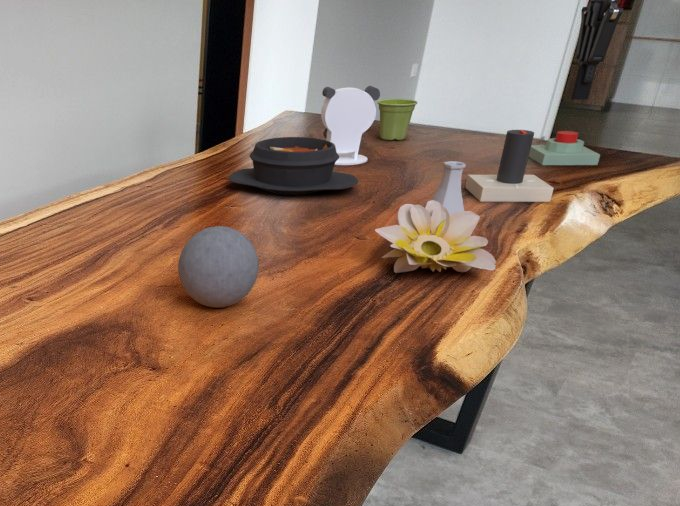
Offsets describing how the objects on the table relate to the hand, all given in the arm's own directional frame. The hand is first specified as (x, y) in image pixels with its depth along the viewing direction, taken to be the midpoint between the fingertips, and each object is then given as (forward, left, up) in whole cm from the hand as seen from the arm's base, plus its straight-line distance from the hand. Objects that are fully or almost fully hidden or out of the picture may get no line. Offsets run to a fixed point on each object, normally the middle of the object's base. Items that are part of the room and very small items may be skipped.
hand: (579, 98), depth 149 cm
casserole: (+59, +25, -13) cm, 66 cm away
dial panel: (+20, +29, -12) cm, 37 cm away
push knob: (0, 0, -9) cm, 9 cm away
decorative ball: (+72, +84, -13) cm, 111 cm away
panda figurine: (+46, -1, -13) cm, 48 cm away
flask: (+36, +49, -13) cm, 62 cm away
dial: (+20, +29, -10) cm, 37 cm away
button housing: (0, 0, -12) cm, 12 cm away
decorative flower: (+44, +70, -13) cm, 84 cm away
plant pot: (+31, -25, -13) cm, 42 cm away
